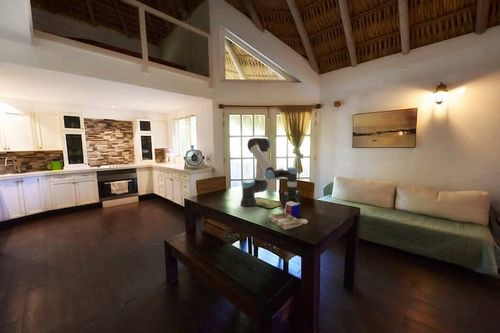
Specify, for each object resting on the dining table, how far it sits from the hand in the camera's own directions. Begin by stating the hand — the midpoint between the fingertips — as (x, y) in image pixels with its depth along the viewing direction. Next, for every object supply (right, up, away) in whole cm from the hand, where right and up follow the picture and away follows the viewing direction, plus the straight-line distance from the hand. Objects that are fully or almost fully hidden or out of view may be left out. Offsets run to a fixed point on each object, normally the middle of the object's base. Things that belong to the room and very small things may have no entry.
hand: (291, 211), depth 173 cm
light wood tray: (-8, -5, -15) cm, 17 cm away
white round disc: (+6, -5, -13) cm, 15 cm away
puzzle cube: (0, -4, +1) cm, 4 cm away
